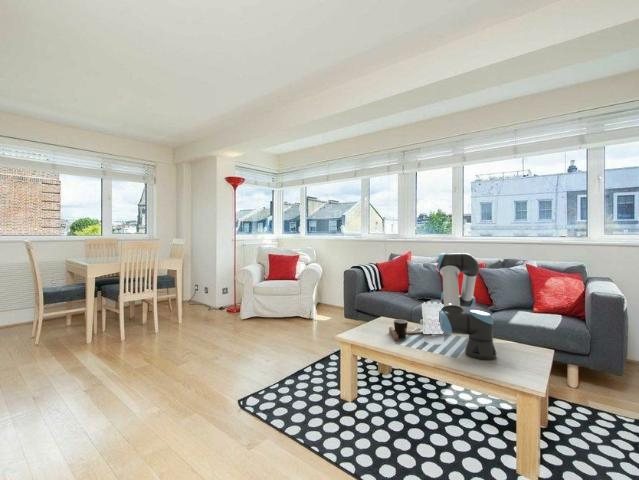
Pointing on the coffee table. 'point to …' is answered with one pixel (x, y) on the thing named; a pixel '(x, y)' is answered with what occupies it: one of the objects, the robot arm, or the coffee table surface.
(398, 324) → the coffee mug
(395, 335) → the brown uneven shapes
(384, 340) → the coffee table surface
